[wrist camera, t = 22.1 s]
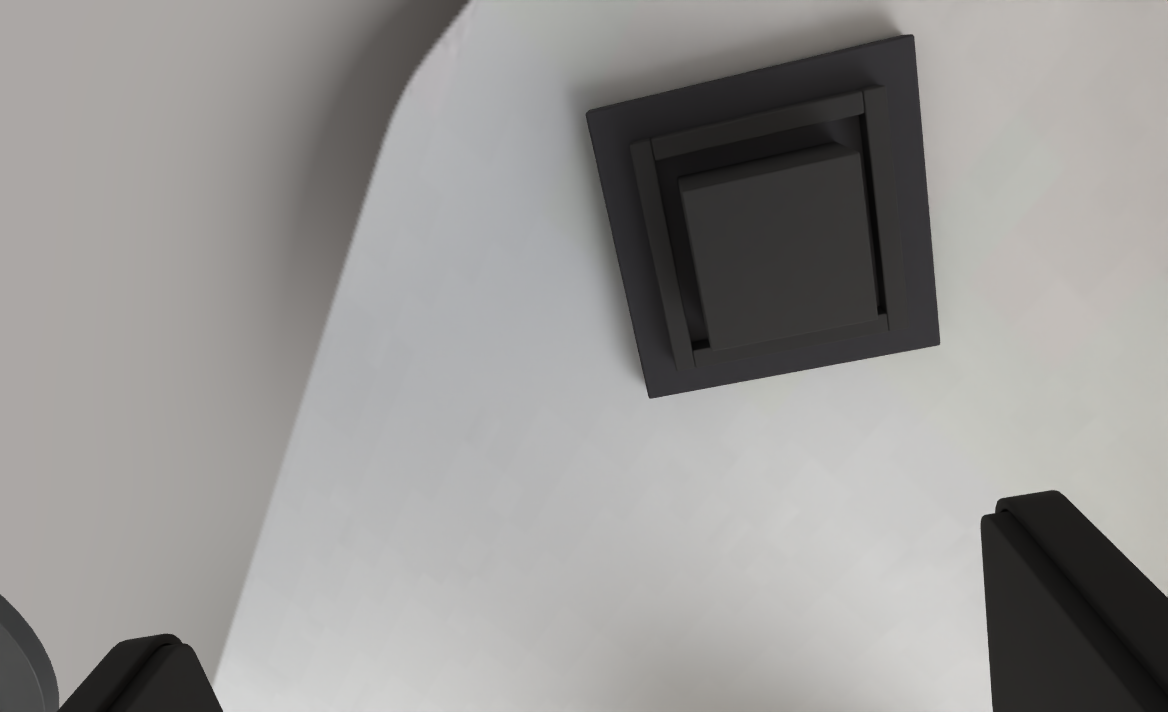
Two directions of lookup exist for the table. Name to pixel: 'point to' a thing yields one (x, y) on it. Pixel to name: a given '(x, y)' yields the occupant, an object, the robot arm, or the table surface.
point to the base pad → (750, 131)
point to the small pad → (780, 245)
